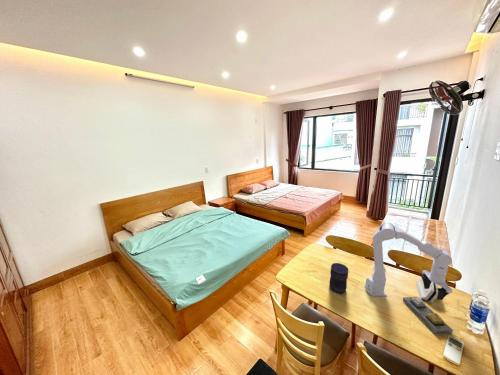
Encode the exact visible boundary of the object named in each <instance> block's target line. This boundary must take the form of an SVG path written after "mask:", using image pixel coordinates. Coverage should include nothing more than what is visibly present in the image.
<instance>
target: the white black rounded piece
mask: <svg viewBox="0 0 500 375" xmlns="http://www.w3.org/2000/svg"><path fill="white" fill-rule="evenodd" d="M415 286H416V288H417V293H418V296H419V298H420V299H421V300H422V301H423V300H425V301H428V303H430V304H432V303H433V302H434V301H435V300H436V299H437V296H438V290H437V288H439V285H437V284H435V283H433V282H431V284H430V288H429V289H425V288H424V283H423V280H422V278H421V279H419V280H418V279H417V280H416V281H415Z"/></svg>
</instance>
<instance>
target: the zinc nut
mask: <svg viewBox="0 0 500 375" xmlns="http://www.w3.org/2000/svg"><path fill="white" fill-rule="evenodd" d="M417 297H418V296H417ZM411 303H412V304H413V305H414V306H415V307H416V308H417V309H421V308H424V307H425V305H426V302H425V301H423V299H422V300H421V299H420V297H418V298H412V300H411Z"/></svg>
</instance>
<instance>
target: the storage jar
mask: <svg viewBox="0 0 500 375" xmlns="http://www.w3.org/2000/svg"><path fill="white" fill-rule="evenodd" d="M330 265H331V266H330V277H329V286H328V287H329V290H330V291H331V292H333V293H334V294H336V295H337V294H338V295H344V294H345V293H346V292H347V287H348V282H347V281H348V278H349V268H348V267H347V265H345V264H343V263H340V262H334V263H332V264H330Z"/></svg>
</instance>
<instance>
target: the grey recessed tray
mask: <svg viewBox="0 0 500 375" xmlns="http://www.w3.org/2000/svg"><path fill="white" fill-rule="evenodd" d="M412 298H418V296H406V297H405V296H404V297H403V298H402V301H403V303H404V304H405V305H406V306H407V307H408V308H409V309H410V310H411V311H412V312H413V313H414V315H416V316H417V317H418V319H419V320H421V321H422V322H423V324H424V325H425V326H426V327H427V328H428V329H429V330H430V331H431V332H432V333H433V334H434V335H435V336H436V335H439V336H440V335H451V334H453V331H454V330H453V328H451V326H449V325H448V324H447V323H446V322H445V321H443V324H442V326H434V325H433V324H432V323H431V322H430V321H429V320H428V319H427V316H428V313H435V312H434V311H433V310H432V309H431V308H430V307H429V306H428V305H427V304H425V307H424V308H421V309H417V308H416V307H415V306H414V305H413V304H412V303H411V300H412Z"/></svg>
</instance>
